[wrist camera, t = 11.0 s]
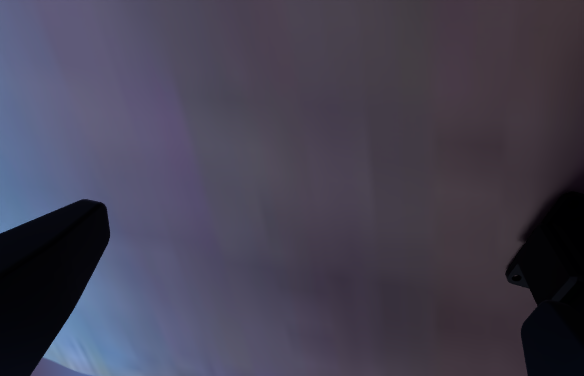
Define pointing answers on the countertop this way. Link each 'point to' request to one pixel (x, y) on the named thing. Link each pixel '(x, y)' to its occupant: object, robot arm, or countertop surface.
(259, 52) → the countertop surface
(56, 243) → the robot arm
